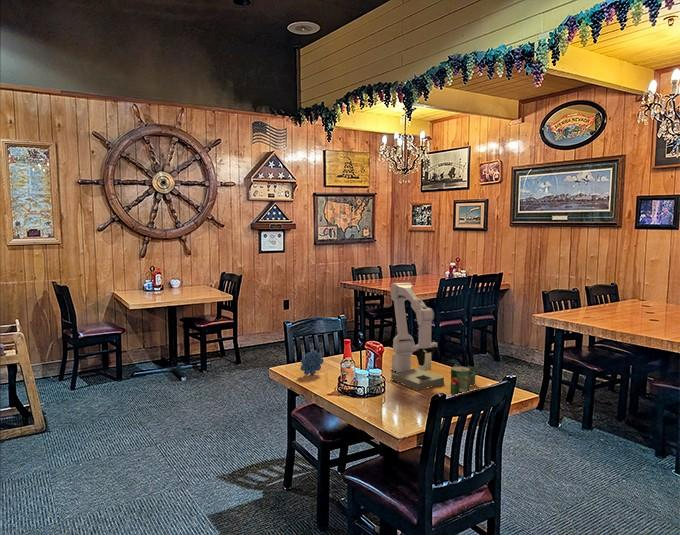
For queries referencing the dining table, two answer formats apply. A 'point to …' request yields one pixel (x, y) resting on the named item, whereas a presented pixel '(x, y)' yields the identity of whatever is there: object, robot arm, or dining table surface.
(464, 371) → the canned tomato
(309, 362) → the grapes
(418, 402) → the dining table surface
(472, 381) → the bracket
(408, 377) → the well board
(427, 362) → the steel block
